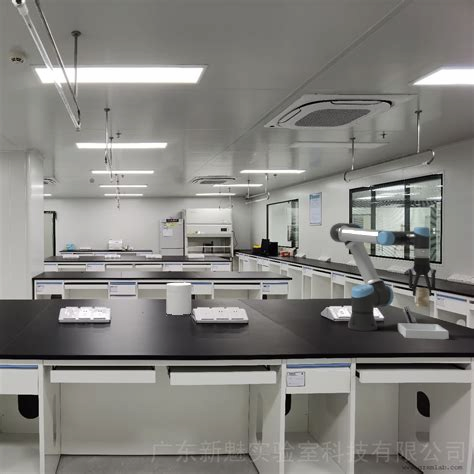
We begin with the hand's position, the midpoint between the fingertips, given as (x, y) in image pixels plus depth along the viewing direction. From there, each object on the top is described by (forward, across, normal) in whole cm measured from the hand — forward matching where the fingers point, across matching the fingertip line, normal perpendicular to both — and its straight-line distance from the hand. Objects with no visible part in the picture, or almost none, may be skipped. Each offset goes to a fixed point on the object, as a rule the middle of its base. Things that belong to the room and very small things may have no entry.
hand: (421, 302), depth 220 cm
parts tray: (+17, 0, 0) cm, 17 cm away
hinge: (+17, +3, +38) cm, 42 cm away
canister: (+17, -140, +37) cm, 146 cm away
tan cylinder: (+2, 0, 0) cm, 2 cm away
